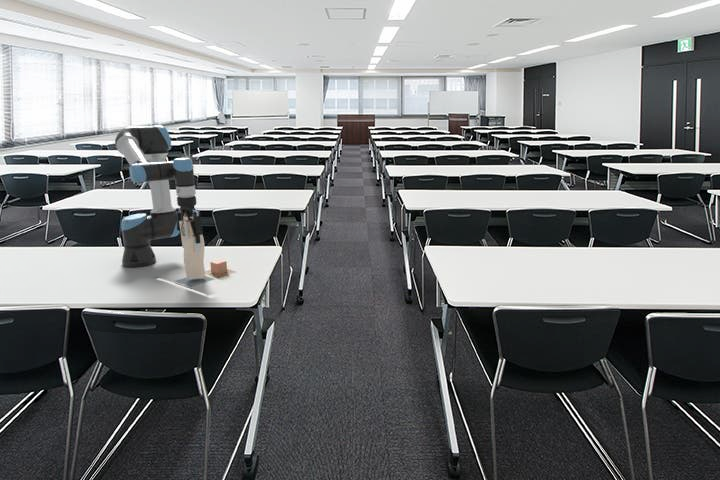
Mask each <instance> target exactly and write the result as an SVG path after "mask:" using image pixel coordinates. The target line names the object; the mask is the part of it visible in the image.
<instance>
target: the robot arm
mask: <svg viewBox="0 0 720 480" xmlns="http://www.w3.org/2000/svg"><path fill="white" fill-rule="evenodd" d="M114 141H115V142H114V145H115V148H116V150H117V152H119V153H120V154H121V155H123V156H124V158H125V160H126V162H127V163H128V164H129V168H128V170H129V176H130V179H131V180H130V181H131V182H133V183H145V182H146V183H148V182H149V185H150V187H149V188H150V195H151V203H152V209H151V210H150V211H149V212H150V215H147V213H143V212H141V213H136V214H131V215H128V216H125V217H124V218H122V220H121V222H120V225H121V233H122V241H123V247H124V248H123V255H122V259H121V263H122V266H123V267H126V268H139V267H142V268H143V267H146V266H149V265H153V264H154V263H156V262H157V258H156V254H155V252H154V250H153V248H152V245H151V241H153V240H160V239H161V240H162V239H166V238H173V237H177V236H178V235H180V234H181V231H180V224H179V221H182V219H183V216H184V213H185V215H187V217H188V220H193V219H192V218H190V217H191V216H193V218H194V221H191V222H190V224H191V227H192V230H193V233H194V235H193V242H194V251H199V250H201V246H200V235H204V230H203V224H202V220H201V211H200V210H196V205H197V196H196V193H197V192H196V183H195V172H194V163H193V160H192V158H190V157H177V158H174V159H173V160H170V161H167V159H166V157H167V156H168V154H169V151H170V150H171V149H172V141H171V136H170V133H169V131H168V129H167V128H166V127H165V126H163V125H135V126H133V125H132V126H128V127H125V128H123V129H122V130H120V131H119V132H118V133H117V135H116V137H115V140H114ZM170 180H174V181H175V192H176V196H177V197H176V202H177V203H176V204H177V206H178V207H177V208H174V207H173V205H172V198H171V190H170V189H171V188H170ZM180 239H181V240H182V238H181V237H180ZM181 245H182V246H181V247H182V249H184V245H183V242H182V241H181Z"/></svg>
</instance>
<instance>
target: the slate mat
mask: <svg viewBox="0 0 720 480" xmlns="http://www.w3.org/2000/svg"><path fill="white" fill-rule="evenodd" d="M213 280H215V278H213V277H210V276H207V275H205V276H204V277H202V278H198V279H189V278H187V276H186V277H183V278H180V279H176V280H174V284H175V285H179V286H182V287H183V288H187V289H191V290H193V288H192V287H196V286H198V285H202V284H204V283H207V282H209V281H210V282H211V281H213Z"/></svg>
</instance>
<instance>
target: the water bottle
mask: <svg viewBox="0 0 720 480" xmlns="http://www.w3.org/2000/svg"><path fill="white" fill-rule="evenodd" d="M190 218H192V219H193V220H188V217H187V215H185V213H184V216H183V219H182V221H179V224H180V231H181V233H180V239H181V238H182V239H181V243H182V242H183V245H184V248H183V264H184V269H185V274H186V277H187V278H189V279H198V278H202V277H204V276H206V274H205V271H206V269H205V262H204V259H205V240H204V239H205V238H204V236H203V235H204V234H202V235H200V246H201V250H199V251H194V242H193V235H194V233H193V230H192V227H191V224H190V222H191V221H194V218H193V216H191V217H190Z"/></svg>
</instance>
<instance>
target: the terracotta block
mask: <svg viewBox="0 0 720 480" xmlns="http://www.w3.org/2000/svg"><path fill="white" fill-rule="evenodd" d="M209 263H210V270H211V273H214V274H218V275H219V274H222V273H225V272H227V269H228V266H227V265H228V263H227V260H223V259H220V258H218V259H216V260H212V261H210V262H209Z"/></svg>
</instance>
